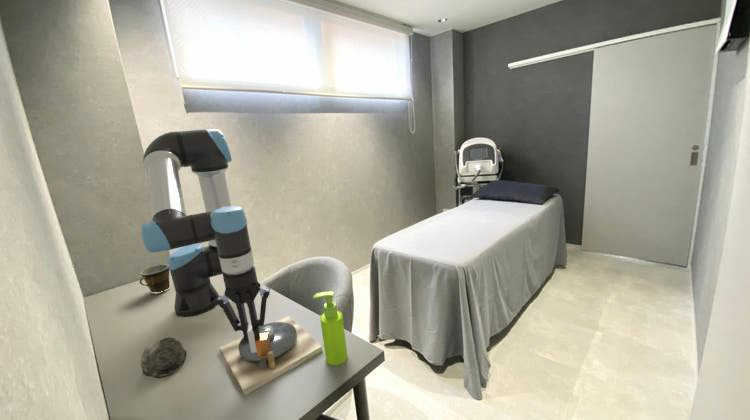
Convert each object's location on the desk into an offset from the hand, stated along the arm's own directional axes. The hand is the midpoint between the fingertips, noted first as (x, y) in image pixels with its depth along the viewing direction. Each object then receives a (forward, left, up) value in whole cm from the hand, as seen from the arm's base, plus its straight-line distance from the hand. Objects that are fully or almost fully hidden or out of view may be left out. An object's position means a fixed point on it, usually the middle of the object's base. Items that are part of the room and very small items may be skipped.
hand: (254, 349), depth 85 cm
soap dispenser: (+12, +17, -6) cm, 22 cm away
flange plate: (-3, +5, -3) cm, 6 cm away
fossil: (-19, -19, -6) cm, 28 cm away
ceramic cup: (-77, -15, -6) cm, 79 cm away
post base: (-4, +5, -6) cm, 9 cm away
